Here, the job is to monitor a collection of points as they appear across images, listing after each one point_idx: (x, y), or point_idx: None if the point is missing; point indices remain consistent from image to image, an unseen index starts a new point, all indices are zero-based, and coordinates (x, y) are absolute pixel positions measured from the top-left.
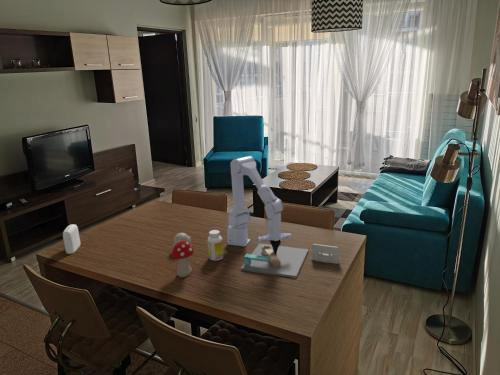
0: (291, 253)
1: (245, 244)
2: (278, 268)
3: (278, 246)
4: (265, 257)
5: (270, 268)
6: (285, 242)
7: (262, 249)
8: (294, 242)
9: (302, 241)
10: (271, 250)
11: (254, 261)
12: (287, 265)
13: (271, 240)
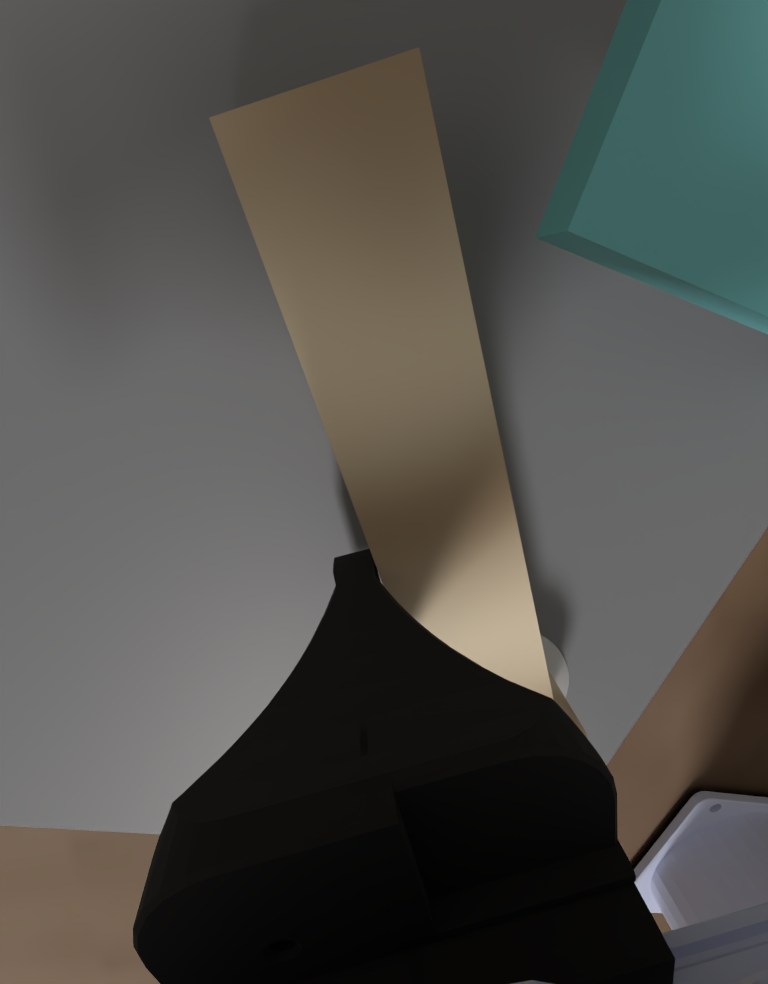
0: (77, 680)
1: (692, 821)
2: (282, 32)
3: (276, 701)
4: (704, 173)
5: (475, 50)
6: None
7: (571, 708)
8: (112, 929)
9: (9, 959)
10: None
11: (722, 399)
12: (69, 196)
13: (609, 954)
